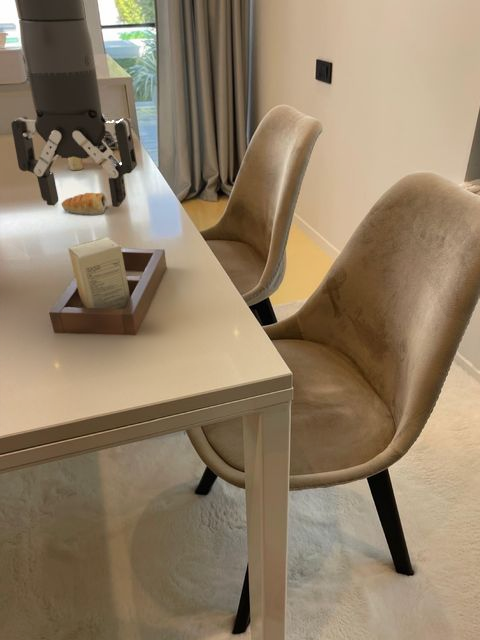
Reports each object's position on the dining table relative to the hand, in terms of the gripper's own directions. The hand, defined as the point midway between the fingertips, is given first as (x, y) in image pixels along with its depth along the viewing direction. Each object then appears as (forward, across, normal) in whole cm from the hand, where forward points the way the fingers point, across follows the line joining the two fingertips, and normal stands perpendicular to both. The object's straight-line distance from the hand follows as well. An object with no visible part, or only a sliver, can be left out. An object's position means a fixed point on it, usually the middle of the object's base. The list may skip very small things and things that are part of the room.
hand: (85, 204), depth 73 cm
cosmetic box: (+18, 0, 0) cm, 18 cm away
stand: (+18, 0, -5) cm, 19 cm away
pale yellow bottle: (+18, +32, -80) cm, 88 cm away
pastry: (+18, +18, -47) cm, 54 cm away
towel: (+18, +36, -101) cm, 109 cm away
